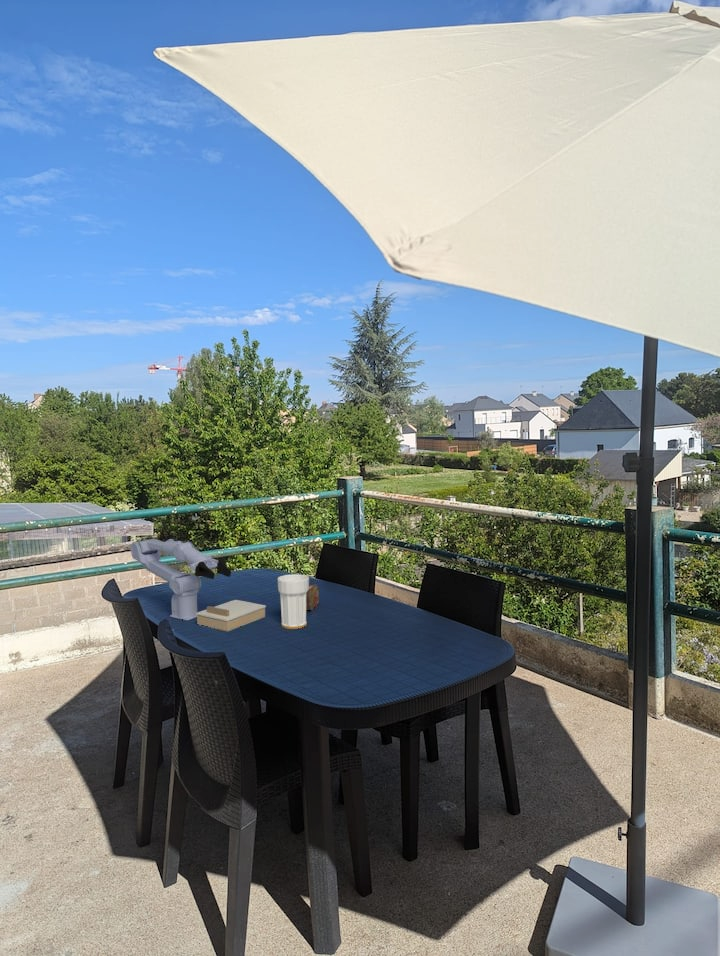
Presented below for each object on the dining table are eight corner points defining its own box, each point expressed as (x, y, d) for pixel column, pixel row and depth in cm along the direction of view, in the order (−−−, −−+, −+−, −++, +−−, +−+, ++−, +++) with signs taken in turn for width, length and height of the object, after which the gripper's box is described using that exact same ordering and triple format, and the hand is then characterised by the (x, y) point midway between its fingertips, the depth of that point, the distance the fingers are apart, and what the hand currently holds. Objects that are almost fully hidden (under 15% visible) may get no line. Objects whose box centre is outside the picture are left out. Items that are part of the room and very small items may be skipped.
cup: (271, 625, 237) (270, 578, 236) (295, 618, 246) (294, 572, 244) (292, 632, 230) (291, 583, 228) (316, 624, 238) (315, 577, 236)
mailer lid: (196, 614, 239) (195, 607, 238) (235, 601, 256) (235, 594, 256) (227, 621, 230) (227, 614, 230) (265, 607, 247) (265, 600, 247)
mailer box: (197, 624, 239) (197, 615, 239) (235, 610, 256) (235, 602, 256) (227, 631, 231) (227, 621, 231) (265, 616, 248) (264, 607, 247)
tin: (310, 613, 252) (309, 591, 251) (302, 613, 253) (301, 591, 252) (320, 602, 267) (319, 582, 266) (312, 602, 267) (312, 581, 266)
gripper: (184, 551, 236) (208, 566, 228) (215, 548, 247) (239, 563, 240) (180, 569, 237) (203, 585, 229) (211, 566, 249) (235, 580, 241)
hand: (221, 575), depth 235 cm, fingers open, 7 cm apart
